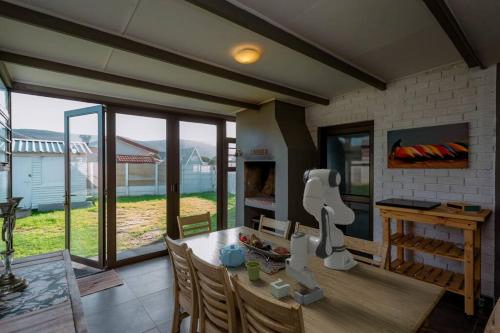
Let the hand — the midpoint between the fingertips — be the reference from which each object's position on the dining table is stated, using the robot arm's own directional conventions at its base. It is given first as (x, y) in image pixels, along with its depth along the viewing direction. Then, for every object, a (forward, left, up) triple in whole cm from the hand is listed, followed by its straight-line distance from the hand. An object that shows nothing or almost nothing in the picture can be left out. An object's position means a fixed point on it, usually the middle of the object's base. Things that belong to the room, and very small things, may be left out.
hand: (300, 289), depth 131 cm
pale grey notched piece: (+3, -6, -2) cm, 7 cm away
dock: (0, +7, -2) cm, 7 cm away
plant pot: (+12, -28, -2) cm, 31 cm away
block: (+2, +5, -1) cm, 5 cm away
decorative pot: (+13, -55, -2) cm, 57 cm away
